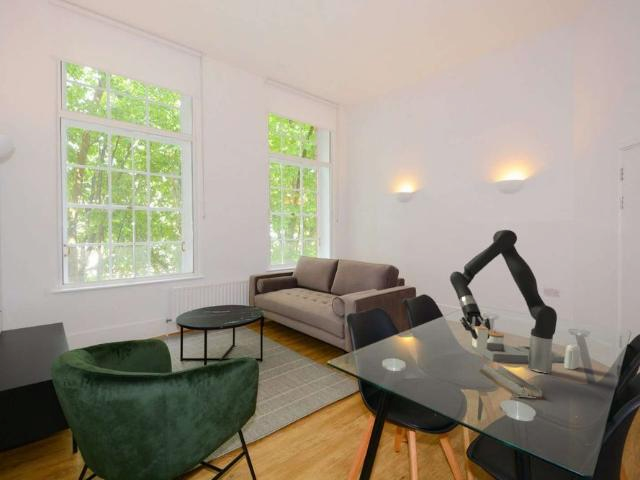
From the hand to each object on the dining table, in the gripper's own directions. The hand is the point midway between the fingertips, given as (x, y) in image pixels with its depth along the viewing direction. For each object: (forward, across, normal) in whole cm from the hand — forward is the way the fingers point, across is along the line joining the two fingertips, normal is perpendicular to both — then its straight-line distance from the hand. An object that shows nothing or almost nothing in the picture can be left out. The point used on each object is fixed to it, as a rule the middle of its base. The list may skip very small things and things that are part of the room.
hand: (481, 338), depth 151 cm
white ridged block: (+1, +63, +26) cm, 68 cm away
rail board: (+17, +10, +8) cm, 22 cm away
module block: (+2, 0, +4) cm, 4 cm away
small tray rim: (-11, +59, +37) cm, 71 cm away
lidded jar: (-22, +40, +48) cm, 67 cm away
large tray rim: (-10, +31, +35) cm, 48 cm away
